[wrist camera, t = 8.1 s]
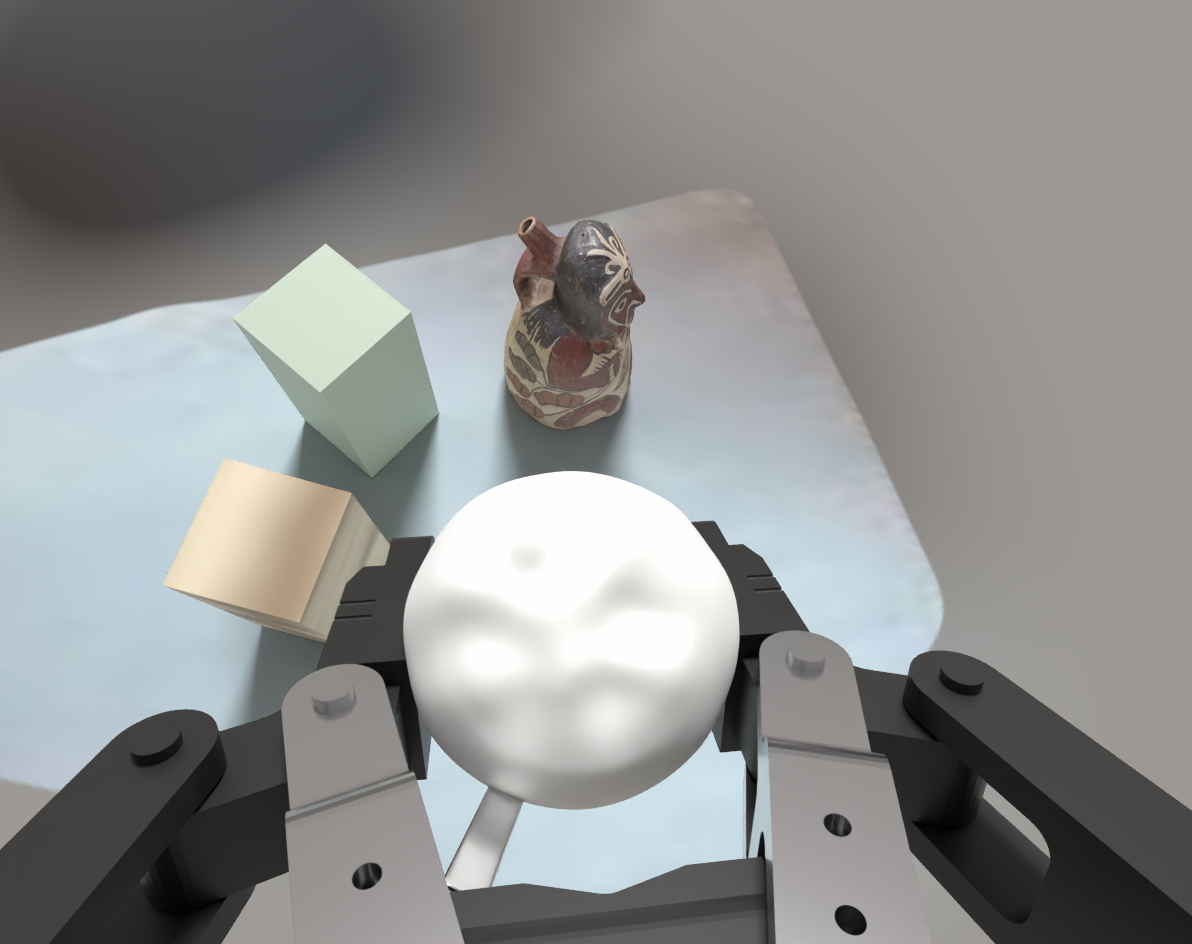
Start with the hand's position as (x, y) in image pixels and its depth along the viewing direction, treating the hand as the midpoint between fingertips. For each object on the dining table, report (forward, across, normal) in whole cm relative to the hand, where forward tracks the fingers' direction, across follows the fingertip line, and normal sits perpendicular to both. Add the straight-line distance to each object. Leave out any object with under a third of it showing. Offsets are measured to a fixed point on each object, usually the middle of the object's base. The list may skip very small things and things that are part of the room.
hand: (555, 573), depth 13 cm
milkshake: (+2, 0, +5) cm, 5 cm away
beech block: (+20, +10, +13) cm, 25 cm away
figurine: (+28, -3, +5) cm, 28 cm away
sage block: (+26, +8, +6) cm, 28 cm away
